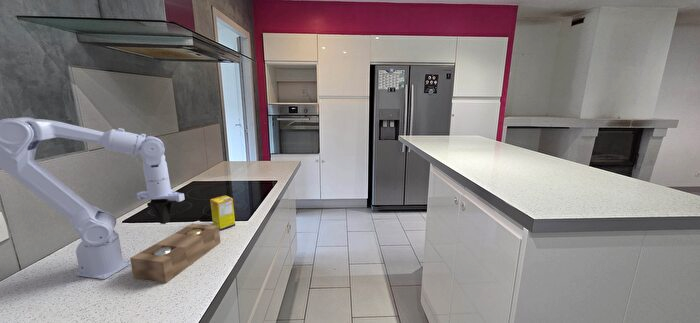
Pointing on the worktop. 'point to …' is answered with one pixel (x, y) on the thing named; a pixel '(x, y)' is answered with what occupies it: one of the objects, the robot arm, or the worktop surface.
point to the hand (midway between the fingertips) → (165, 222)
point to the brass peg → (194, 232)
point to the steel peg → (162, 251)
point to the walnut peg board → (174, 253)
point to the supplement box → (222, 212)
